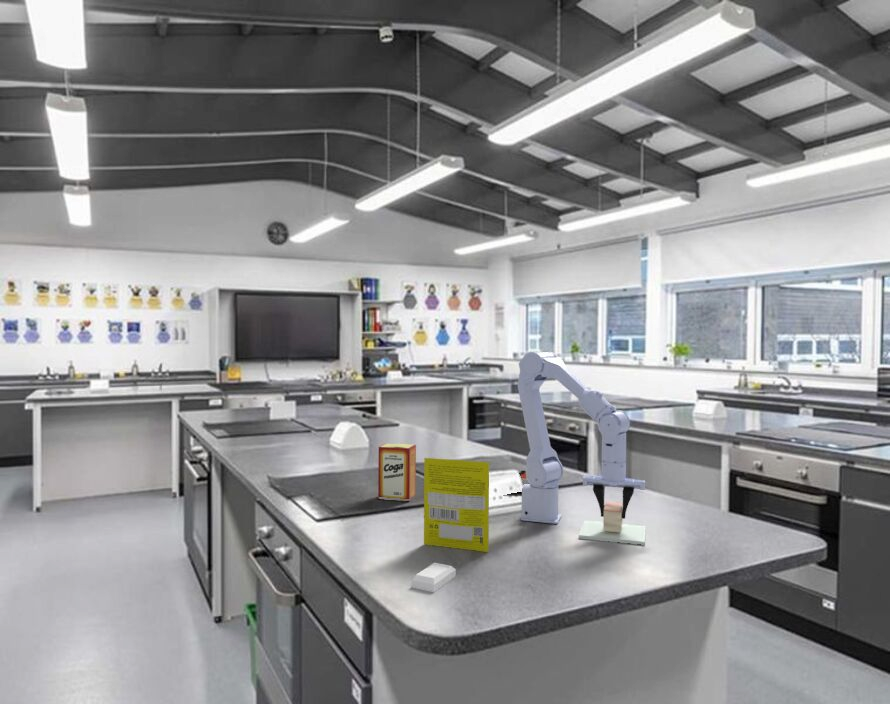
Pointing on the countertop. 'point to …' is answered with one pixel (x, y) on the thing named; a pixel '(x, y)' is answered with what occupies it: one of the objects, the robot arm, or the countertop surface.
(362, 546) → the countertop surface
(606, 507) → the maple block
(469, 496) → the food package
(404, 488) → the baking soda box
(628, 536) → the mat
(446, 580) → the soap bar
